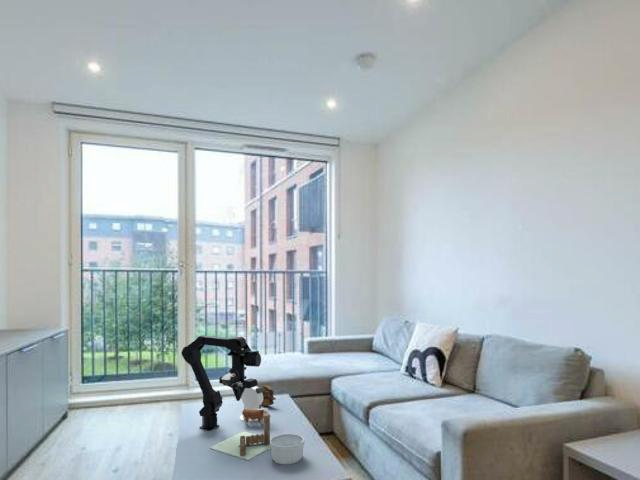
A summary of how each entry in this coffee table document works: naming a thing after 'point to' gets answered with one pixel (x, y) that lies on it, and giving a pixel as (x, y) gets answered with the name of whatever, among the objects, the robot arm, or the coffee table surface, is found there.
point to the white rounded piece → (252, 399)
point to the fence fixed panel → (242, 445)
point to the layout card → (233, 447)
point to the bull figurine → (254, 415)
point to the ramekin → (287, 448)
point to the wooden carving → (268, 396)
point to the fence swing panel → (262, 437)
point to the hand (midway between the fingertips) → (238, 400)
